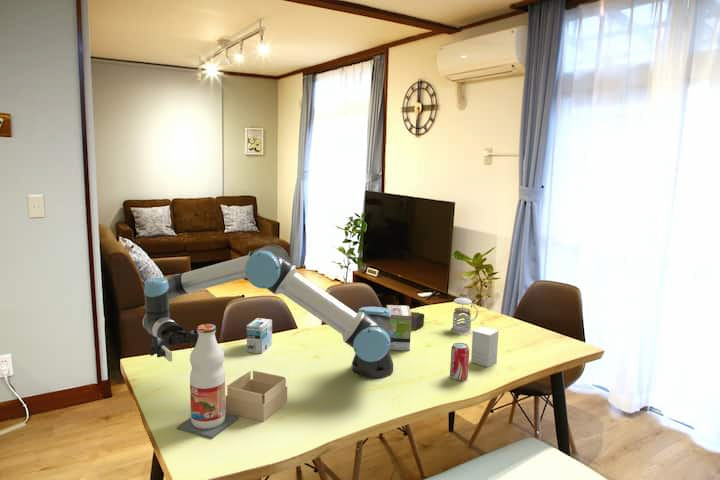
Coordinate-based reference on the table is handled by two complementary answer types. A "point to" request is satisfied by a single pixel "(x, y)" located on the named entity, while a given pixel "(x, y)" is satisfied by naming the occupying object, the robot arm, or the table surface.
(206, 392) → the fruit juice
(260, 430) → the table surface
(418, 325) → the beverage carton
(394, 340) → the tea box
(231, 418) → the coaster
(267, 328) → the light bulb box
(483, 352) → the supplement box
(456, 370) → the soda can
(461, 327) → the french press
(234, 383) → the carton
